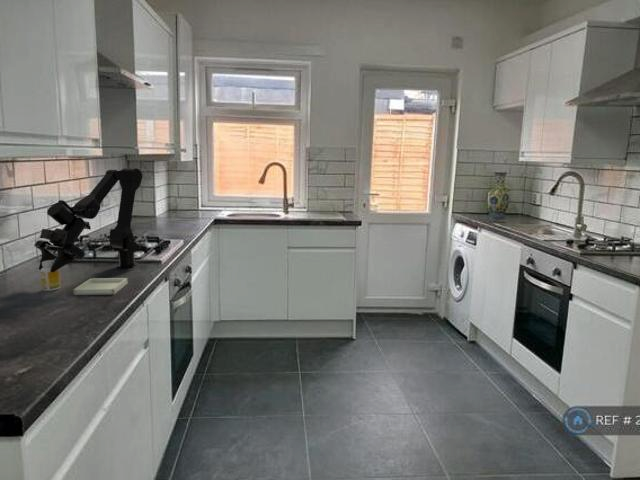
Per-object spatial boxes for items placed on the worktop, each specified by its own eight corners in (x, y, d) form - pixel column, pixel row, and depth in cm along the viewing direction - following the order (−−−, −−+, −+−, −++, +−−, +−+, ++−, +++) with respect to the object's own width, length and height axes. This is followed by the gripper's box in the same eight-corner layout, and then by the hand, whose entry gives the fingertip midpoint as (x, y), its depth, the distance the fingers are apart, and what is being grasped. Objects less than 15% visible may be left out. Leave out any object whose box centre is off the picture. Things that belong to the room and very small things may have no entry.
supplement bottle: (40, 291, 161) (36, 263, 159) (47, 286, 166) (43, 259, 164) (56, 290, 161) (53, 263, 160) (63, 286, 167) (60, 259, 165)
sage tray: (91, 283, 171) (90, 278, 170) (128, 282, 171) (127, 278, 171) (74, 294, 158) (73, 289, 157) (114, 294, 158) (113, 289, 158)
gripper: (35, 217, 166) (8, 255, 159) (73, 221, 159) (46, 261, 151) (59, 235, 175) (34, 272, 168) (95, 239, 167) (71, 278, 160)
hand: (45, 270), depth 161 cm, fingers closed on supplement bottle, 5 cm apart
